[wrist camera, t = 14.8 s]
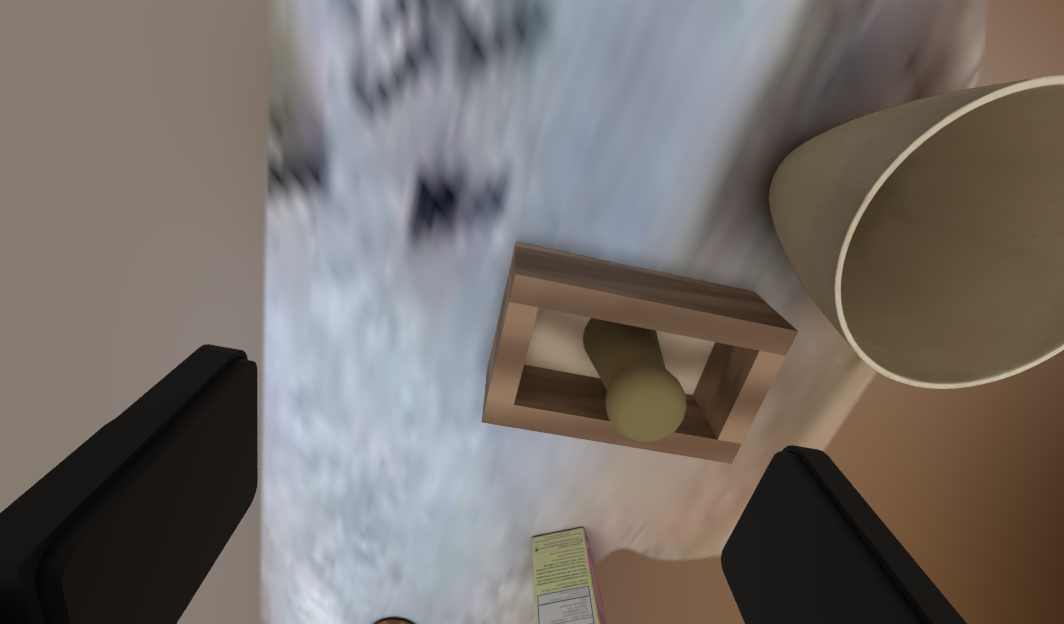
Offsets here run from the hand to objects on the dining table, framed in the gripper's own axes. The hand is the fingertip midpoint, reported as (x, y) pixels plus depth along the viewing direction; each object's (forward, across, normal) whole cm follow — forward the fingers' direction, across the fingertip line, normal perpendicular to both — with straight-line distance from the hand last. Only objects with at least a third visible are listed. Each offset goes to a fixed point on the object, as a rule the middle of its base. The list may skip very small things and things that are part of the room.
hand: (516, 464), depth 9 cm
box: (+31, -14, +39) cm, 52 cm away
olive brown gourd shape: (+30, -11, +11) cm, 33 cm away
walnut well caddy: (+30, -11, +11) cm, 34 cm away
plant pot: (+31, -22, -4) cm, 38 cm away
